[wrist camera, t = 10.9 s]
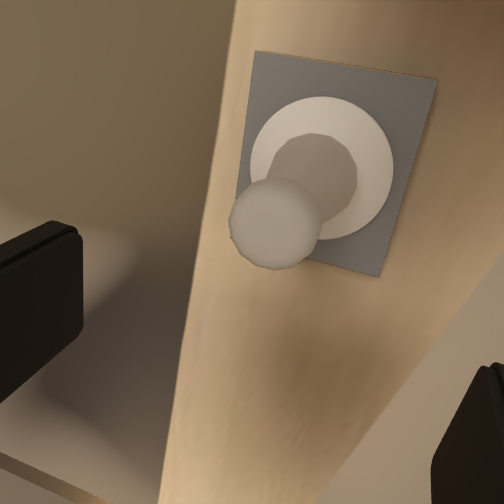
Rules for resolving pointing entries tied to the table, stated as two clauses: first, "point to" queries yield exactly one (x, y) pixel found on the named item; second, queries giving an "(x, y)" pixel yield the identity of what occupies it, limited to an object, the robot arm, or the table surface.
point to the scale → (347, 133)
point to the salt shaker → (293, 201)
